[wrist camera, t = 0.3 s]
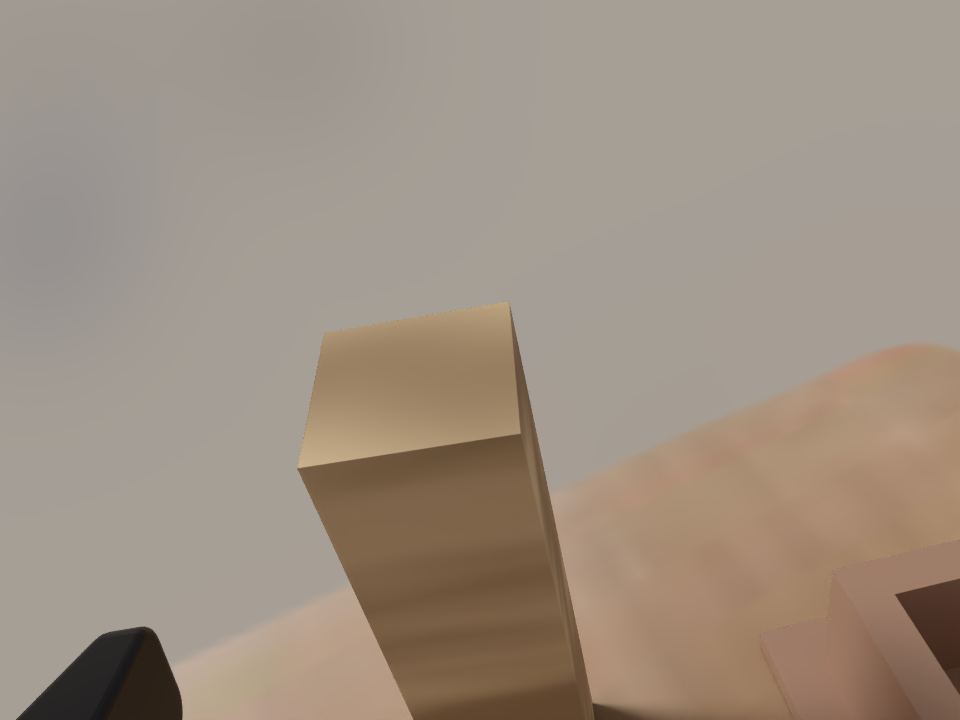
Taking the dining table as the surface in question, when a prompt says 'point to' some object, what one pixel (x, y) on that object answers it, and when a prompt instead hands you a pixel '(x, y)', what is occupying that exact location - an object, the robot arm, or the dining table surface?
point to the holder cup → (878, 643)
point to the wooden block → (446, 515)
